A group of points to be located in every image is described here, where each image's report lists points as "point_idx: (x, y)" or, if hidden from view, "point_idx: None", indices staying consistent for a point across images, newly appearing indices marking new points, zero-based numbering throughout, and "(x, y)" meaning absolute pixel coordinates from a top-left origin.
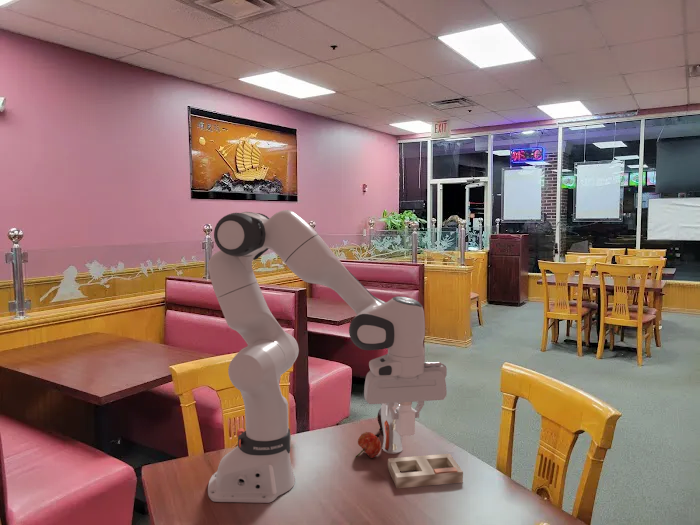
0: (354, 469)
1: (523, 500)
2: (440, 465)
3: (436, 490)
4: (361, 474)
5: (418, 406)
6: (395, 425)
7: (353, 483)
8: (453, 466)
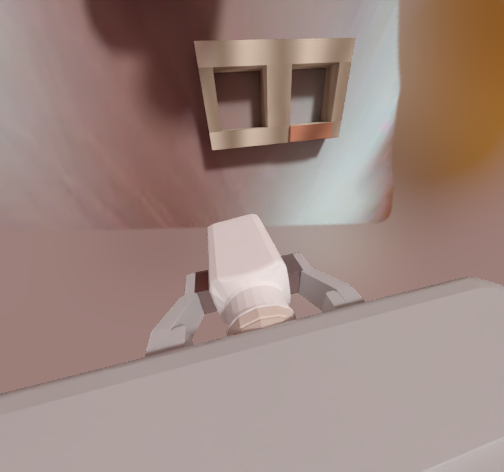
0: (100, 37)
1: (374, 188)
2: (315, 67)
3: (277, 158)
4: (127, 73)
5: (317, 298)
6: (207, 243)
7: (116, 118)
8: (332, 112)
